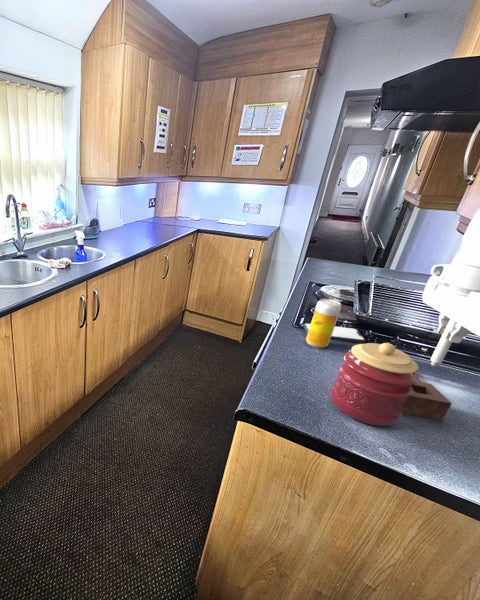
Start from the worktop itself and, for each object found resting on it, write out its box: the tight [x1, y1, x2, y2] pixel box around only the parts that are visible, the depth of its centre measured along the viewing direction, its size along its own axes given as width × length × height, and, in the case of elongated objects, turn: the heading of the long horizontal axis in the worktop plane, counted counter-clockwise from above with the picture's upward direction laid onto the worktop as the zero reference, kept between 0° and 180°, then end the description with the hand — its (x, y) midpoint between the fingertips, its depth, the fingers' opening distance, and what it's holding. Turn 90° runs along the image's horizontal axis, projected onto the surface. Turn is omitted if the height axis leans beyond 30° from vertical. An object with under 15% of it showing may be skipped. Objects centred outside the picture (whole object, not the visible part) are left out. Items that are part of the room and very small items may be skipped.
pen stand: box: [402, 382, 453, 422], centre depth 78 cm, size 8×8×5 cm
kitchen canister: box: [329, 342, 420, 427], centre depth 75 cm, size 13×13×18 cm
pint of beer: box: [305, 298, 342, 349], centre depth 103 cm, size 6×6×15 cm
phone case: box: [302, 322, 366, 344], centre depth 112 cm, size 9×2×16 cm
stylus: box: [430, 319, 457, 367], centre depth 72 cm, size 2×2×14 cm
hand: (447, 337), depth 72 cm, fingers closed on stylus, 2 cm apart
